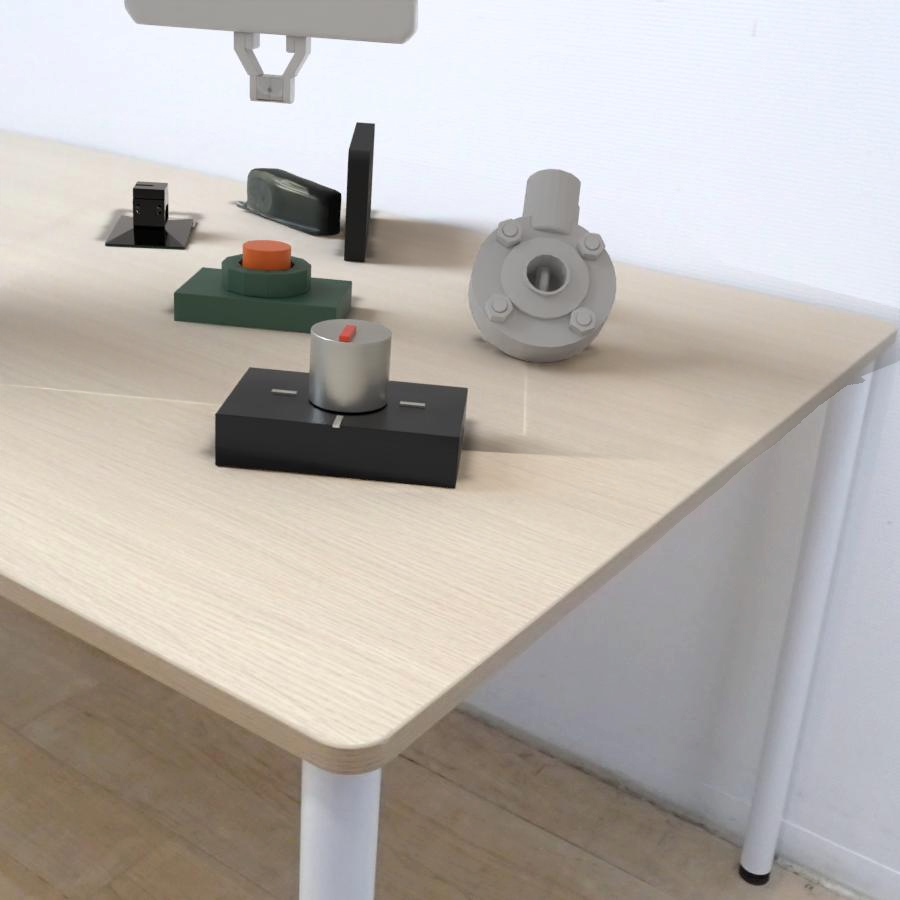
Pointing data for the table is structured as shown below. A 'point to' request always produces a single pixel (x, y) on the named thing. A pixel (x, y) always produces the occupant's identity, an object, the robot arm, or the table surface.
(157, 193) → the build plate
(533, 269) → the mechanical valve
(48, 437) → the table surface
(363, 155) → the nameplate
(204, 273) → the button box
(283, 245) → the button
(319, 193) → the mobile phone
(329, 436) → the dial panel
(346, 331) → the knob
